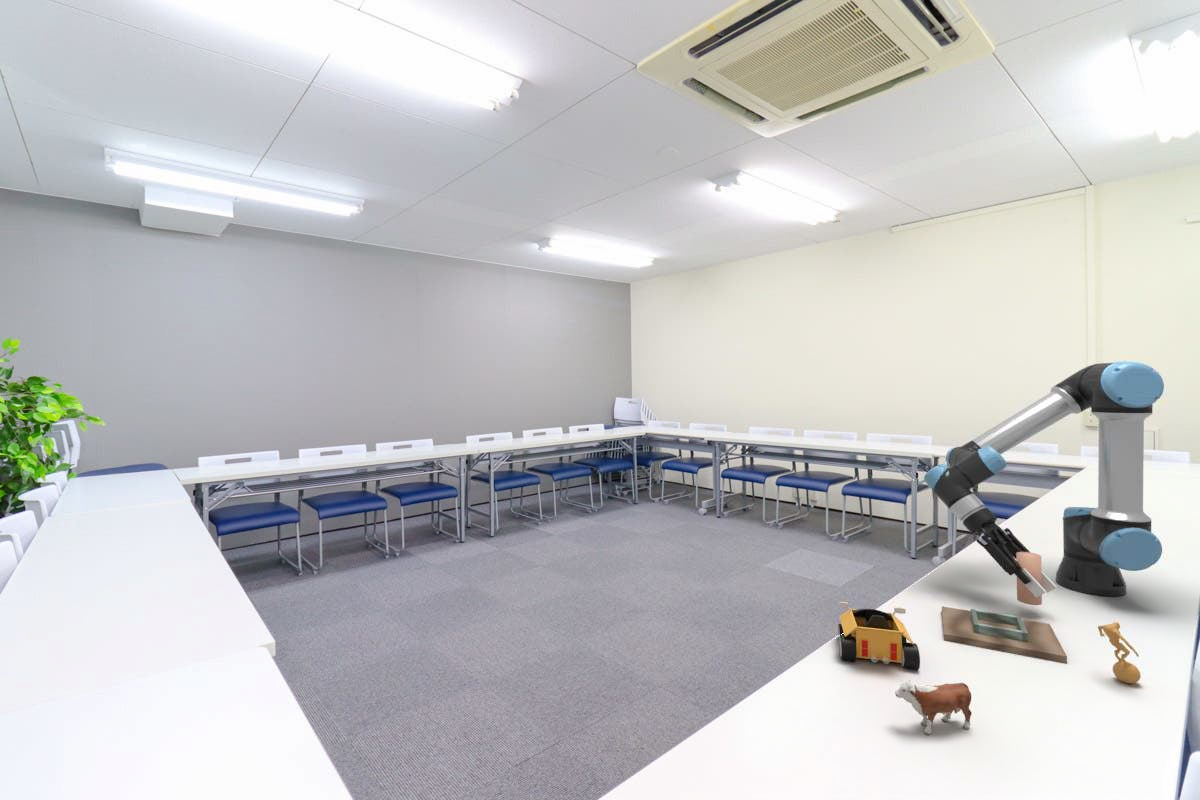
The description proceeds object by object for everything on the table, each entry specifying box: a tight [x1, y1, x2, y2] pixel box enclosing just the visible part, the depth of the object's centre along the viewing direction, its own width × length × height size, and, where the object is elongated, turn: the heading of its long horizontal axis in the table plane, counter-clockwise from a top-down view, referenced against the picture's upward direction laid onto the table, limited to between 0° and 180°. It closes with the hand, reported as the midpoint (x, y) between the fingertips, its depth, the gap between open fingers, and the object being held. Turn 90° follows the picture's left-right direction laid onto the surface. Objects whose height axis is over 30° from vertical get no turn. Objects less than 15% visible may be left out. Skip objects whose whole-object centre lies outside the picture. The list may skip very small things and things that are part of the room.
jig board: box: [941, 606, 1068, 664], centre depth 127 cm, size 22×18×4 cm
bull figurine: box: [894, 679, 972, 736], centre depth 94 cm, size 4×13×8 cm, turn 95°
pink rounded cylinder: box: [1015, 551, 1043, 606], centre depth 138 cm, size 5×5×12 cm
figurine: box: [1097, 621, 1142, 684], centre depth 107 cm, size 8×6×12 cm
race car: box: [837, 601, 921, 670], centre depth 119 cm, size 15×15×11 cm
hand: (1046, 592), depth 134 cm, fingers closed on pink rounded cylinder, 5 cm apart
